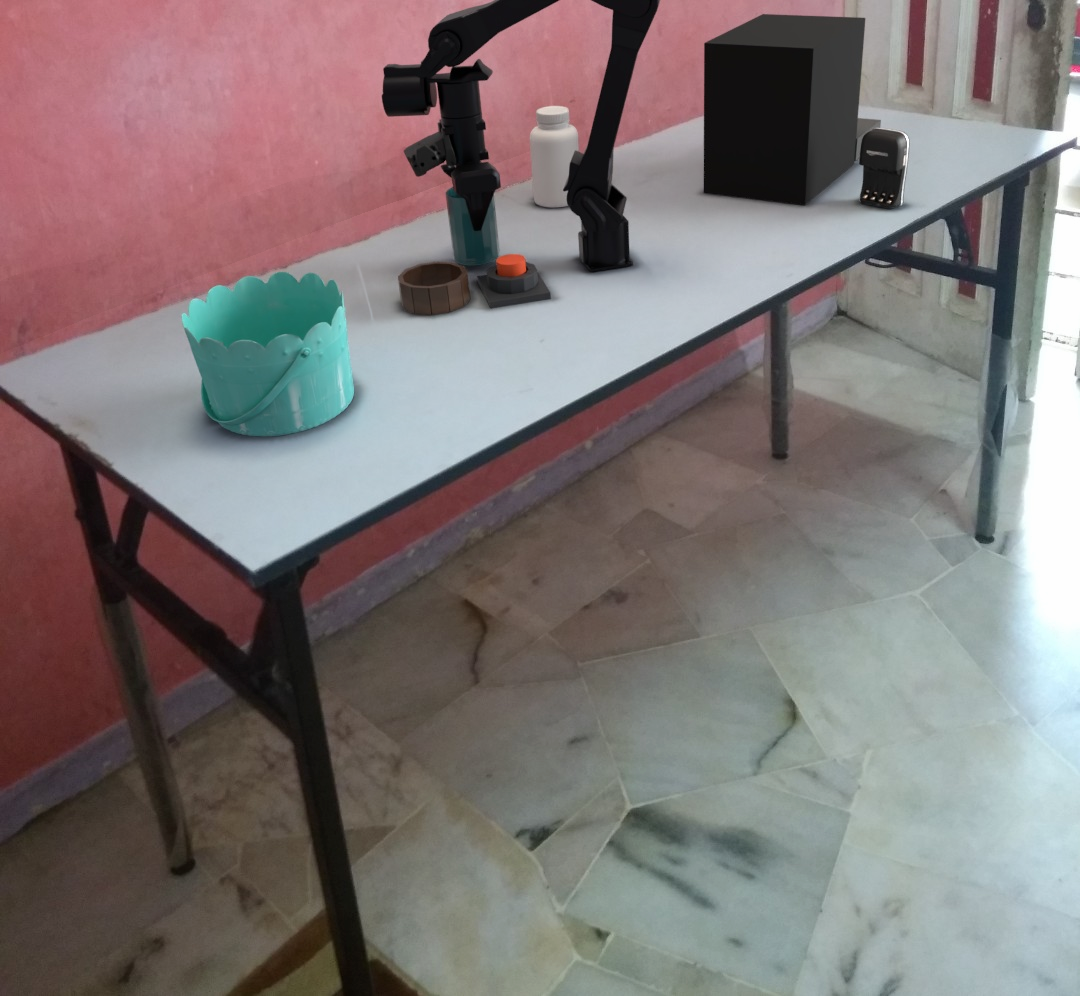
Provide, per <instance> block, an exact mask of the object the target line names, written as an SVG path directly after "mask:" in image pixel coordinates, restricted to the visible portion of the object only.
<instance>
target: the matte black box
mask: <svg viewBox="0 0 1080 996" xmlns="http://www.w3.org/2000/svg"><path fill="white" fill-rule="evenodd" d="M865 31H866V17H858V16H857V17H855V16H854V17H853V16H826V15H800V14H799V15H797V14H775V13H774V14H773V13H772V14H771V13H762V14H760V15H758V16H756V17H754V18H752V19H749V20H748V21H746V22H743V23H741V24H740V25H738V26H736V27H733V28H732V29H729V30H728V31H725V32H724V33H721V34H719V35H718V36H716V37H714V38H711V39H709V40H707V41H706V42H704V43H703V187H702V188H703V191H702V192H703V194H706V195H714V196H723V197H724V196H725V197H732V198H741V199H749V200H755V201H765V202H773V203H781V204H791V205H799V206H806V205H807V204H809V203H810V201H812V200H814V198H816V197H817V196H818V195H819V194H820V193H822V192H823V191H825V189H827V188H828V187H829V186H830V185H831V184H832V183H833V182H835V181H836V180H837V179H838V178H840V177H841V176H843V174H844V173H846V172H847V171H848V170H849V169H851V168H852V167H853V166H854V165H855V162H856V161H857V160H858V161H859V158H860V148H861V142H862V138H863V136H864V135H865V134H866V133H867V132H869V131H871V130H872V129H874V128H881V124H882V120H881V119H875V118H864V117H863V118H861V117H859V108H860V95H861V94H860V93H861V81H862V69H863V55H864V43H865V42H864V41H865Z"/></svg>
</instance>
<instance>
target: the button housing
mask: <svg viewBox="0 0 1080 996" xmlns="http://www.w3.org/2000/svg"><path fill="white" fill-rule="evenodd" d="M525 264H526V273H525V274H522V275H520V276H514V277H502V276H499V275H498V273H497V264H495V265H492V266H490V267H489V268H488V269H487V271H486V274H482V275H477V276H476V280H477V284H478V286H479V288H480V290H481V293H482V294H483V296H484V298H485V300H486V302H487V304H488V306H489V308H490V309H495V308H496V309H497V308H502V307H509V306H514V305H515V306H516V305H520V304H528V303H534V302H541V301H547V300H551V299H552V293H551V291H550V289H549V288H548V286H547V284H546V283H545V281H544V280H543V278H542V277H541V275H540V274H539V272H538V268H537V267H536V265H535V264H534V263H531V262H529V261H525Z"/></svg>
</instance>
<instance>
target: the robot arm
mask: <svg viewBox="0 0 1080 996" xmlns="http://www.w3.org/2000/svg"><path fill="white" fill-rule="evenodd" d="M559 1H560V0H492V1H489V2H486V3H484V4H480V5H476V6H471V7H468V8H465V9H461V10H458V11H455V12H451V13H449V14H447V15H445V16H444V17H443V18H442V19H441V20H439V22H437V24H435V25H434V26H433V27H432V28H431V30H430V31H429V34H428V38H427V47H428V51H427V53H426V55H425V57H424V58H423V59H422V60H421V62H420V63H419V64H418V63H417V64H399V63H387V64H386V65H385V66H384V67H383V69H382V71H383V80H382V94H381V103H382V107H383V110H384V113H385V115H386V116H387V117H389V118H391V117H413V116H414V117H415V116H416V117H417V116H429V115H430V112H431V109H432V108H436V106H437V103H438V104H439V113H440V114H439V115H440V118H439V119H438V121H439V122H437V130H438V131H437V132H434V133H432V134H429V135H427V136H425V137H424V138H422V139H420V140H418V141H416V142H414V143H412V144H411V145H408V146H407V147H405V148H404V149H403V153H404V156H405V157H406V160H407V162H408V163H409V165H410V167H411V169H412V171H413V173H414V175H415V176H416V178H417V177H418V178H419V177H422V176H424V175H426V174H427V172H429V171H431V170H433V169H434V168H436V167H439V166H440V168H441V170H442V172H443V173H444V174H445V175H447V176H448V177H449V178H450V179H451V185H452V186H451V188H453V190H454V191H455V193H456V194H457V195H459V196H461V197H462V198H464V199H465V203H466V206H467V210H468V213H469V216H470V220H471V223H472V226H473V229H474V231H480V230H482V227H483V224H484V221H485V218H486V215H487V212H488V209H489V206H490V203H491V200H492V198H493V195H494V196H495V192H496V191H497V190H499V189H501V188H502V184H501V183H502V182H501V174H500V172H499V171H498V170H497V168H496V166H494V165H493V164H492V163H490V162H489V161H487V160H490V156H489V151H488V150H487V148H486V142H485V141H486V140H485V132H484V131H485V130H487V126H486V121H485V120H484V118H483V112H482V101H481V91H480V82H483V81H484V82H485V81H488V80H489V79H490V78H491V76H492V75H493V73H494V72H493V70H492V69H491V68H490V67H488V66H487V65H486V64H485V63H484V62H483V61H482V59H481V58H477V59H476V60H475V61H474V64H473V65H462V64H463V63H464V62H465V61H467V60H468V59H469V58H470V57H471V56H473V55H474V54H475V53H477V52H478V51H479V50H480V49H481V48H483V47H484V46H485V45H486V44H487V43H489V41H491V40H493V38H495V36H497V35H498V34H500V33H501V32H503V31H505V30H507V29H508V28H511V27H512V26H514V25H516V24H518V23H520V22H522V21H524V20H526V19H527V18H529V17H531V16H533V15H535V14H537V13H539V12H541V11H543V10H544V9H546V8H548V7H550V6H552V5H554V4H555V3H558V2H559ZM590 1H592V2H593V3H596V4H597V5H599V6H600V7H603V8H606V9H609V10H611V11H612V20H611V46H610V51H609V55H608V59H607V64H606V67H605V71H604V76H603V79H602V84H601V88H600V92H599V96H598V100H597V104H596V107H595V108H596V109H595V113H594V117H593V121H592V125H591V129H590V133H589V137H588V142H587V146H586V147H585V150H584V152H580V151H579V152H578V151H576V150H575V151H574V154H573V156H572V159H571V161H570V166H569V176H568V178H567V181H566V183H565V186H564V189H563V191H568V193H567V205H568V206H567V207H569V209H570V211H571V212H572V213H573V214H574V215H575V216H578V217H579V219H580V224H581V225H580V226H581V231H578V233H577V239H578V253H579V254H578V255H579V257H578V258H579V260H580V261H581V262H582V264H583V265H585V267H586V268H587V269H588V271H589V272H592V273H594V272H595V273H596V272H601V271H607V270H608V271H609V270H613V269H620V268H626V267H632V266H634V261H633V259H632V258H631V257H630V228H629V226H630V224H629V219H627V217H625V216H624V212H625V208H626V204H627V200H628V198H627V196H626V195H625V194H624V193H623V192H621V191H620V190H619V189H618V188H617V187H616V186H615V185H614V184H613V172H614V171H613V170H614V150H615V149H614V148H615V143H616V141H617V140H616V139H617V136H618V132H619V128H620V124H621V120H622V117H623V113H624V108H625V105H626V101H627V98H628V93H629V89H630V85H631V82H632V77H633V74H634V70H635V66H636V62H637V59H638V54H639V51H640V49H641V47H642V45H643V43H644V41H645V40H646V39H645V38H646V36H647V34H648V32H649V30H650V28H651V25H652V23H653V20H654V18H655V17H656V14H657V12H658V9H659V6H660V2H661V0H590ZM445 67H448V68H450V72H443V73H439V72H440V71H441V70H443V69H444V68H445ZM482 161H483V162H482Z"/></svg>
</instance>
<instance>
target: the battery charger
mask: <svg viewBox="0 0 1080 996" xmlns="http://www.w3.org/2000/svg"><path fill="white" fill-rule="evenodd" d="M910 146H911V145H910V137H909V135H908V134H907V132H905V131H902V130H898V129H893V128H885V127H880V128H874V129H872V130H871V131H869V132H867V133H866V134H865V135H864V136H863V138H862V142H861V148H860V158H859V159H858V165H861V166H862V185H861V190H860V194H859V202H860V203H862V204H864V205H868V206H874V207H879V208H882V209H883V208H884V209H895V208H898V207H901V206H902V205H903V204H904V196H905V189H906V188H905V186H906V181H907V173H908V166H909V158H910Z"/></svg>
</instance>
